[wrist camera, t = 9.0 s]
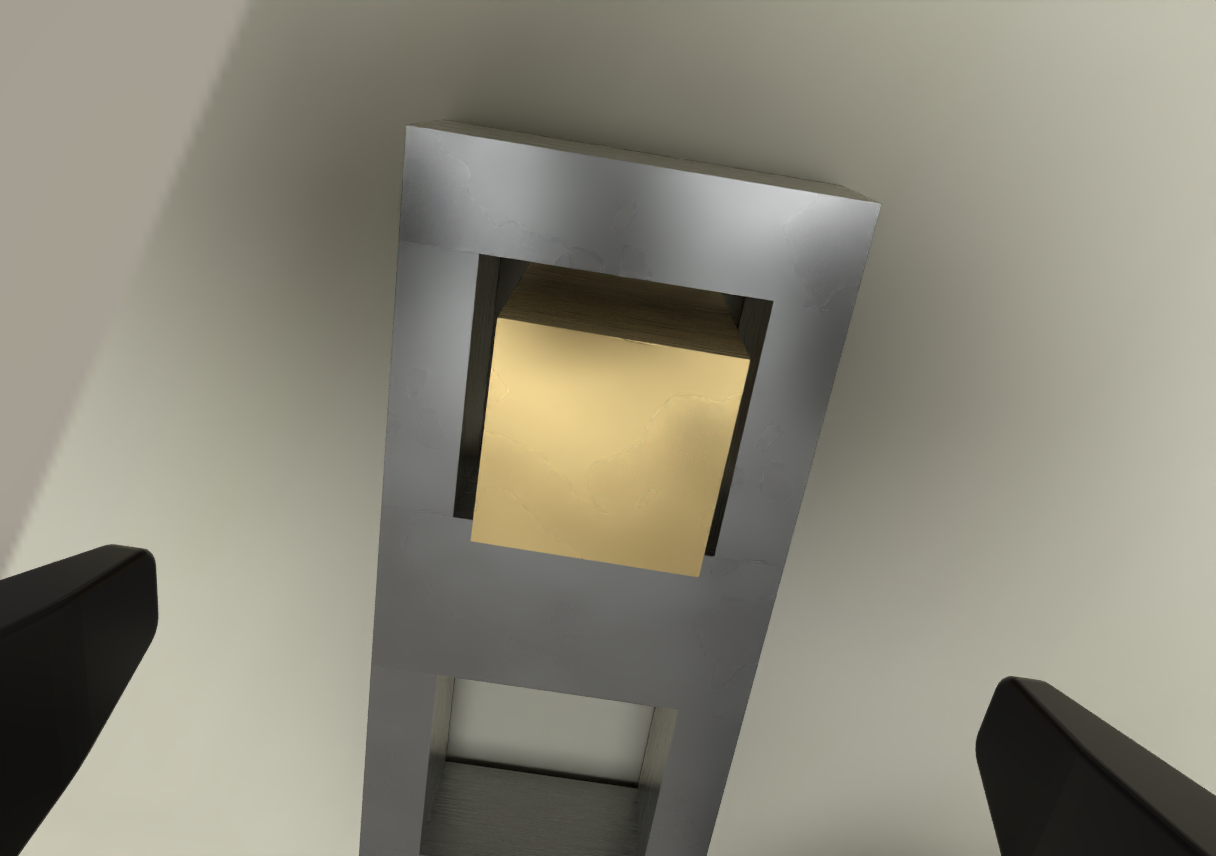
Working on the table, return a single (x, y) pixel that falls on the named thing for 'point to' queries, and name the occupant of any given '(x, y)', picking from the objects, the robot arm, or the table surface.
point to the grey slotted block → (572, 587)
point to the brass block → (608, 419)
